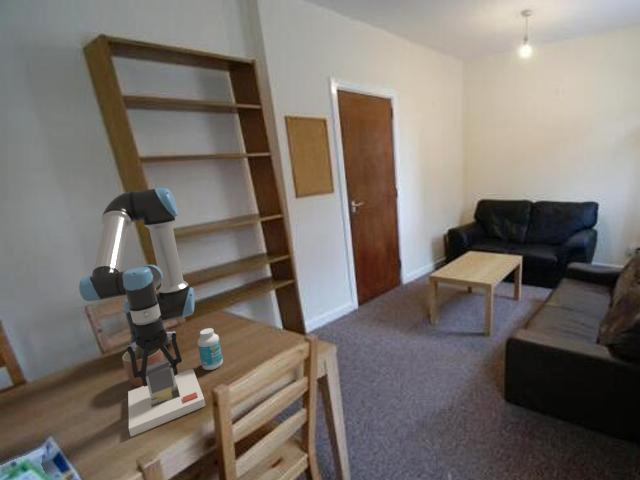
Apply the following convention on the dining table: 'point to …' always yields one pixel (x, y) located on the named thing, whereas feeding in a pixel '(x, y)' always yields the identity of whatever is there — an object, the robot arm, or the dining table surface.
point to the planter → (140, 363)
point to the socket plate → (163, 403)
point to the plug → (160, 380)
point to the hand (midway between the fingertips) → (163, 389)
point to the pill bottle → (210, 349)
